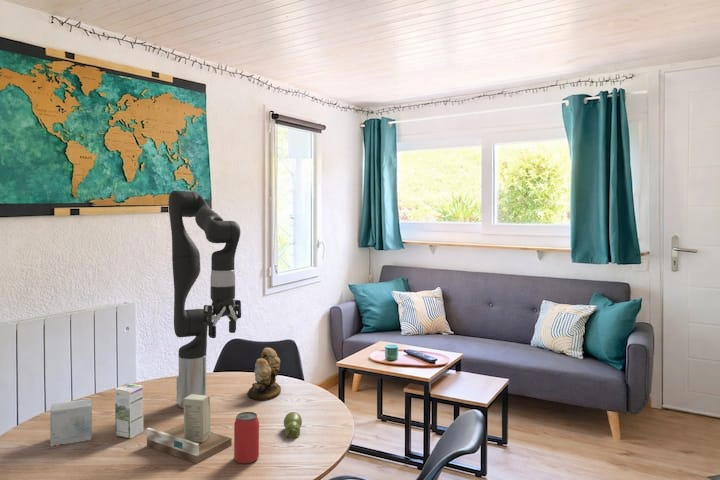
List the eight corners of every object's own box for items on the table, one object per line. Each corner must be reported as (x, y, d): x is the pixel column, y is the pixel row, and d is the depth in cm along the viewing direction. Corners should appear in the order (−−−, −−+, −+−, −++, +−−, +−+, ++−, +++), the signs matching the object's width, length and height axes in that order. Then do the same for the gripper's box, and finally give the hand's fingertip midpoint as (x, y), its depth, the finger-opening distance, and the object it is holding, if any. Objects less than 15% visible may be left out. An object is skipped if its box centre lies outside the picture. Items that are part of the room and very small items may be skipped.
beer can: (236, 453, 143) (236, 411, 143) (260, 453, 144) (260, 410, 143) (232, 465, 137) (232, 420, 136) (257, 464, 137) (257, 420, 137)
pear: (302, 408, 162) (301, 426, 153) (301, 423, 164) (301, 442, 154) (284, 409, 162) (282, 427, 152) (284, 424, 163) (282, 443, 153)
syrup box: (144, 431, 156) (144, 384, 156) (129, 439, 151) (129, 390, 150) (129, 429, 158) (129, 382, 158) (114, 436, 153) (114, 388, 152)
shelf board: (145, 446, 147) (145, 429, 146) (182, 429, 158) (183, 413, 158) (195, 463, 137) (195, 445, 137) (231, 445, 148) (231, 428, 148)
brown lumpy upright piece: (253, 384, 202) (253, 341, 201) (283, 385, 202) (284, 342, 202) (244, 401, 184) (245, 353, 183) (277, 401, 184) (278, 354, 184)
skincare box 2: (211, 437, 149) (211, 395, 148) (203, 443, 145) (203, 400, 144) (191, 434, 150) (191, 393, 150) (182, 440, 146) (182, 398, 146)
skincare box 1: (50, 447, 145) (49, 410, 145) (51, 438, 151) (51, 403, 150) (92, 440, 150) (91, 404, 150) (92, 432, 156) (91, 397, 155)
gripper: (214, 287, 154) (214, 341, 155) (247, 282, 167) (247, 332, 167) (197, 285, 158) (196, 338, 159) (230, 281, 170) (229, 329, 171)
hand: (222, 335), depth 163 cm, fingers open, 8 cm apart
